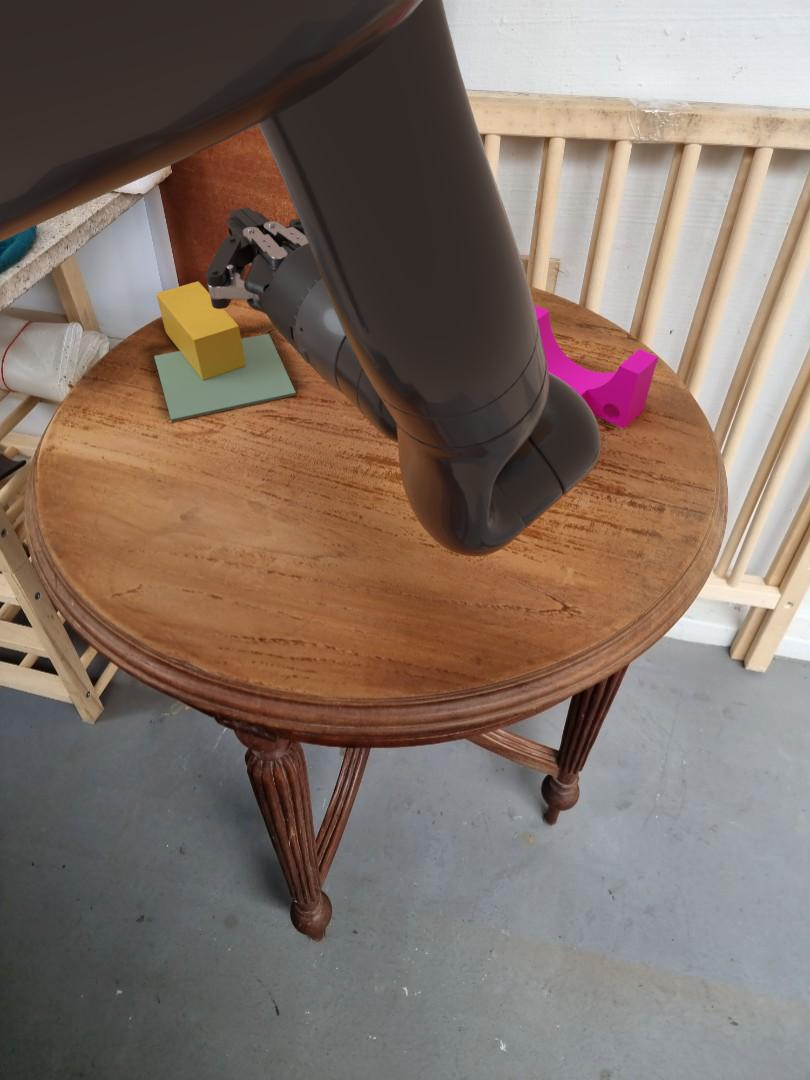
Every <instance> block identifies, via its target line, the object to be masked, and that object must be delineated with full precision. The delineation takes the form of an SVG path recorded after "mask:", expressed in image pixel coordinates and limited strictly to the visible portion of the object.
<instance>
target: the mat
mask: <svg viewBox="0 0 810 1080" xmlns="http://www.w3.org/2000/svg"><path fill="white" fill-rule="evenodd" d="M241 341H242V347H243V353H244V358H245V364H246V366H245V367H242V368H239V369H236V370H233V371H230V372H227V373H224V374H221V375H218V376H215V377H212V378H209V379H206V380H202V378H201V377H200V376H199V375H198V373H197V372H196V371H195V369H194V368H193V367H192V366H191V364H190V363H189V362H188V360H187V359H186V358H185V357H184V355H183V354H182V353H181V351H180V350H178V351H172V352H167V353H161V354H157V355H154V361H155V364H156V368H157V372H158V376H159V380H160V384H161V388H162V392H163V395H164V399H165V403H166V407H167V410H168V414H169V417H170V418H169V419H170V421H171V423H175V422H179V421H184V420H190V419H194V418H198V417H203V416H208V415H213V414H216V413H221V412H226V411H230V410H234V409H235V410H236V409H239V408H244V407H248V406H249V407H250V406H255V405H258V404H263V403H268V402H271V401H276V400H282V399H286V398H291V397H294V396H295V397H296V396H297V392H296V390H295V387H294V385H293V383H292V381H291V378H290V377H289V374H288V372H287V370H286V368H285V366H284V363H283V361H282V359H281V357H280V355H279V353H278V350H277V348H276V346H275V344H274V341H273V339H272V337H271V335H270V333H265V334H260V335H255V336H254V335H253V336H249V337H245V338H244V337H243V338H241Z"/></svg>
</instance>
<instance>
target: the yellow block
mask: <svg viewBox="0 0 810 1080" xmlns="http://www.w3.org/2000/svg"><path fill="white" fill-rule="evenodd" d="M155 296H156V298H157V299H156V300H157V303H158V308H159V312H160V315H161V318H162V324H163V327H164V330H165V334H166V335H167V336H168V338H169V339H170V340H171V341H172V342H173V344H174V345H175V346H176V348H177V349H178V351H181V353H182V354H183V355H184V357H185V358H186V359H187V360H188V362H189V363H190V364H191V366H192V367H193V368H194V369H195V371H196V372H197V373H198V375H199V376H200V377H201V378H202V380H206V379H209V378H212V377H215V376H218V375H221V374H224V373H227V372H230V371H233V370H236V369H239V368H242V367H245V366H246V364H245V358H244V353H243V347H242V341H241V339H242V336H241V330H240V326H239V325H238V323H237V322H236V321H235V320H234V319H233V317H232V316H230V315H229V313H228V312H227V311H226V310H225V308H223V309H216V308H214V307H213V306H212V302H211V297H210V293H209V290H207V289H206V288H205V287H204V285H203V284H202V283H201V282H200V281H195V282H190V283H187V284H183V285H180V286H176V287H173V288H170V289H165V290H163V291H160V292H156V293H155Z"/></svg>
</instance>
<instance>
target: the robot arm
mask: <svg viewBox="0 0 810 1080" xmlns="http://www.w3.org/2000/svg"><path fill="white" fill-rule="evenodd" d="M444 5H445V4H444V1H443V0H0V243H2V242H3V241H6V240H8V239H9V238H12V237H14V236H16V235H18V234H20V233H22V232H25V231H28V230H29V229H31V228H34V227H35V226H38V225H40V224H42V223H45V222H47V221H49V220H51V219H53V218H56V217H59V216H60V215H63V214H65V213H67V212H70V211H71V210H74V209H76V208H78V207H80V206H83V205H85V204H87V203H90V202H92V201H94V200H96V199H99V198H100V197H103V196H105V195H107V194H109V193H111V192H114V191H116V190H118V189H121V188H123V187H125V186H127V185H130V184H131V183H134V182H136V181H138V180H140V179H143V178H145V177H148V176H150V175H152V174H154V173H157V172H159V171H161V170H163V169H165V168H168V167H170V166H172V165H174V164H177V163H178V162H181V161H183V160H186V159H188V158H190V157H192V156H194V155H197V154H199V153H201V152H203V151H205V150H208V149H210V148H212V147H214V146H217V145H219V144H221V143H224V142H225V141H227V140H229V139H231V138H233V137H235V136H237V135H239V134H241V133H243V132H246V131H247V130H249V129H251V128H253V127H256V126H257V127H258V129H259V131H260V133H261V134H262V138H263V139H264V142H265V144H266V145H267V148H268V149H269V152H270V153H271V156H272V159H273V161H274V163H275V166H276V168H277V170H278V172H279V174H280V177H281V179H282V182H283V184H284V186H285V188H286V191H287V193H288V195H289V198H290V201H291V203H292V206H293V208H294V211H295V213H296V216H297V218H294V219H291V220H289V222H288V225H289V226H284V225H282V224H281V223H279V222H278V221H273V220H270V219H268V218H267V217H266V216H265V215H264V214H263V213H262V212H259V211H257V210H255V211H254V210H252V208H251V207H250V206H245V207H241V208H237V209H234V210H233V209H232V210H230V211H229V217H228V218H226V223H227V228H228V235H229V236H227V237H225V238H224V239H223V241H222V242H221V244H220V246H219V247H218V250H217V252H216V253H215V255H214V256H213V259H212V260H211V262H210V264H209V266H208V268H207V270H206V271H205V277H206V281H207V289H208V292H209V294H210V297H211V302H212V306H213V307H214V308H216V309H226V308H228V307H229V306H230V304H231V303H232V300H241V301H246V303H247V304H248V306H249V307H250V308H251V309H253V310H255V311H258V312H261V313H263V314H265V315H266V317H268V319H269V321H270V322H271V324H272V325H273V327H274V328H275V330H276V331H277V332H278V333H279V334H280V335H281V336H282V337H283V339H285V340H286V341H287V343H288V344H289V345H291V347H292V348H293V349H294V350H295V351H296V352H297V353H298V354H299V355H300V356H301V358H302V359H303V360H304V362H305V363H306V364H308V365H309V366H310V367H311V368H312V369H313V370H314V371H315V372H316V373H317V374H318V375H319V376H320V377H321V378H322V379H323V380H324V381H325V382H326V383H327V384H329V385H330V386H331V387H332V388H334V389H335V390H337V391H338V392H339V393H341V394H342V395H343V396H344V397H345V398H346V399H347V400H348V401H349V402H350V403H351V404H352V405H353V406H354V407H355V408H356V409H357V410H358V411H359V412H360V413H361V414H362V415H363V416H364V417H365V419H366V420H367V421H369V423H370V424H371V425H372V426H373V427H374V428H375V429H376V430H377V431H378V432H379V433H380V434H382V435H383V436H384V437H386V438H387V439H388V440H391V441H392V442H394V443H397V446H398V450H397V451H398V462H399V463H398V464H399V470H400V476H401V482H402V487H403V490H404V492H405V496H406V498H407V501H408V503H409V506H410V508H411V510H412V512H413V514H414V516H415V517H416V519H417V521H418V522H419V524H420V525H421V527H422V528H423V529H424V530H425V532H427V534H428V536H430V537H431V538H432V539H433V540H434V541H435V542H437V543H438V544H439V545H440V546H442V547H443V548H445V549H446V550H448V551H450V552H452V553H455V554H456V555H457V554H458V555H461V556H465V557H483V556H484V557H485V556H488V555H491V554H492V555H493V554H494V553H497V552H499V551H500V550H502V549H504V548H506V547H507V546H509V544H510V543H512V542H513V541H515V539H517V538H518V537H519V536H520V535H522V533H524V532H525V530H527V529H528V528H529V527H530V526H531V525H533V524H534V523H535V522H536V521H537V520H538V519H539V518H540V517H542V516H543V515H544V514H545V513H546V512H548V511H549V510H550V509H551V508H552V507H554V505H556V504H557V503H558V502H559V501H560V500H561V499H563V497H564V496H566V495H567V494H568V493H570V492H571V491H572V490H573V489H574V488H576V487H577V486H578V485H579V484H580V483H581V482H582V481H583V480H585V478H587V477H588V476H589V474H590V473H591V472H592V471H593V470H594V468H595V467H596V465H597V463H598V461H599V459H600V456H601V450H602V435H601V430H600V429H601V428H600V426H599V423H598V421H597V418H596V417H597V416H596V415H594V413H593V412H592V410H591V408H590V407H589V405H588V404H587V402H586V401H585V400H584V399H583V398H582V396H581V395H580V394H579V393H578V392H577V391H575V390H574V389H573V388H572V387H571V386H569V385H568V384H567V383H566V382H564V381H563V380H561V379H560V378H558V377H556V376H555V375H553V374H551V373H550V372H548V366H547V361H546V356H545V352H544V348H543V343H542V339H541V334H540V330H539V325H538V321H537V316H536V311H535V307H534V305H535V304H534V299H533V295H532V292H531V291H532V290H531V287H530V283H529V279H528V277H527V273H526V270H525V267H524V263H523V260H522V257H521V254H520V250H519V247H518V244H517V240H516V238H515V235H514V232H513V230H512V226H511V223H510V220H509V218H508V214H507V212H506V209H505V206H504V202H503V200H502V196H501V194H500V190H499V188H498V185H497V182H496V178H495V176H494V173H493V170H492V166H491V164H490V161H489V159H488V155H487V153H486V149H485V146H484V143H483V140H482V136H481V134H480V131H479V128H478V125H477V122H476V119H475V116H474V112H473V109H472V106H471V102H470V99H469V96H468V92H467V89H466V86H465V82H464V79H463V76H462V72H461V69H460V65H459V61H458V58H457V54H456V50H455V46H454V42H453V38H452V34H451V31H450V27H449V23H448V19H447V15H446V14H447V13H446V10H445V6H444ZM246 266H249V269H248V272H247V275H246V277H245V279H244V280H243V277H244V276H245V273H246Z"/></svg>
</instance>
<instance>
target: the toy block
mask: <svg viewBox="0 0 810 1080" xmlns="http://www.w3.org/2000/svg"><path fill="white" fill-rule="evenodd" d="M534 307H535V311H536V316H537V321H538V325H539V330H540V334H541V339H542V343H543V348H544V352H545V356H546V361H547V366H548V372H550V373H551V374H553V375H555V376H556V377H558V378H560V379H561V380H563V381H564V382H566V383H567V384H568V385H569V386H571V387H572V388H573V389H574V390H575V391H577V392H578V393H579V394H580V395H581V396H582V398H583V399H584V400H585V401H586V402H587V404H588V405H589V407H590V408H591V410H592V412H593V413H594V415H595V417H598V418H601V419H603V420H605V421H606V422H609V423H611V424H613V425H616V426H617V427H619V428H622V429H626V428H627V427H628V425H629V424H631V423H632V422H633V421H634V420H635V419H636V418H637V417H639V415H641V414H642V413H643V412H644V409H645V405H646V403H647V398H648V395H649V392H650V388H651V385H652V382H653V377H654V374H655V371H656V367H657V363H658V360H659V356H657V355H656V354H652V353H650V352H648V351H646V350H643V349H641V348H638V349H637V350H636V351H635V352H633V354H631V355H630V356H629V357H627V358H626V360H624V361H623V362H622V363H621V364H620V365H619V366H618V367H617V370H615V371H612V372H597V371H592V370H589V369H587V368H585V367H582V366H581V365H579V364H577V363H576V362H574V360H572V359H570V357H568V355H567V354H566V353H565V352H564V351H563V350H562V348H561V346H560V345H559V343H558V342H557V340H556V338H555V336H554V335H555V334H554V333H553V329H552V326H551V320H550V310H547V309H545V308H542V307H540V306H537V305H535V304H534Z"/></svg>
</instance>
